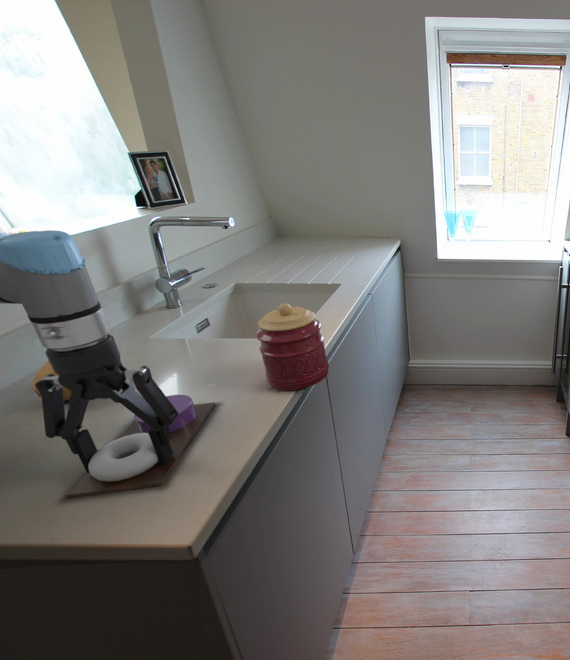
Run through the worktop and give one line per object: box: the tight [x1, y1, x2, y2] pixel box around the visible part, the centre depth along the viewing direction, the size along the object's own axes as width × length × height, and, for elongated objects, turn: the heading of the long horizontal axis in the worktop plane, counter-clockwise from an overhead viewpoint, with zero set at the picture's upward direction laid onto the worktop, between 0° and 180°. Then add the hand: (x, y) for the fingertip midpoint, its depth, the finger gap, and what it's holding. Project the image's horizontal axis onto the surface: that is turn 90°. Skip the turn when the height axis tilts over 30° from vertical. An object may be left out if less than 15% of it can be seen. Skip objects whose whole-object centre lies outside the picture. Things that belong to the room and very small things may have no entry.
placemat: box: [65, 402, 217, 499], centre depth 79 cm, size 13×23×1 cm, turn 11°
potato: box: [31, 360, 72, 402], centre depth 92 cm, size 10×14×8 cm
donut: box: [88, 433, 159, 482], centre depth 72 cm, size 10×4×10 cm
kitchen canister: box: [255, 302, 330, 391], centre depth 97 cm, size 13×13×18 cm
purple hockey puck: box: [133, 394, 196, 433], centre depth 84 cm, size 9×9×3 cm
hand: (131, 462), depth 73 cm, fingers closed on donut, 10 cm apart
